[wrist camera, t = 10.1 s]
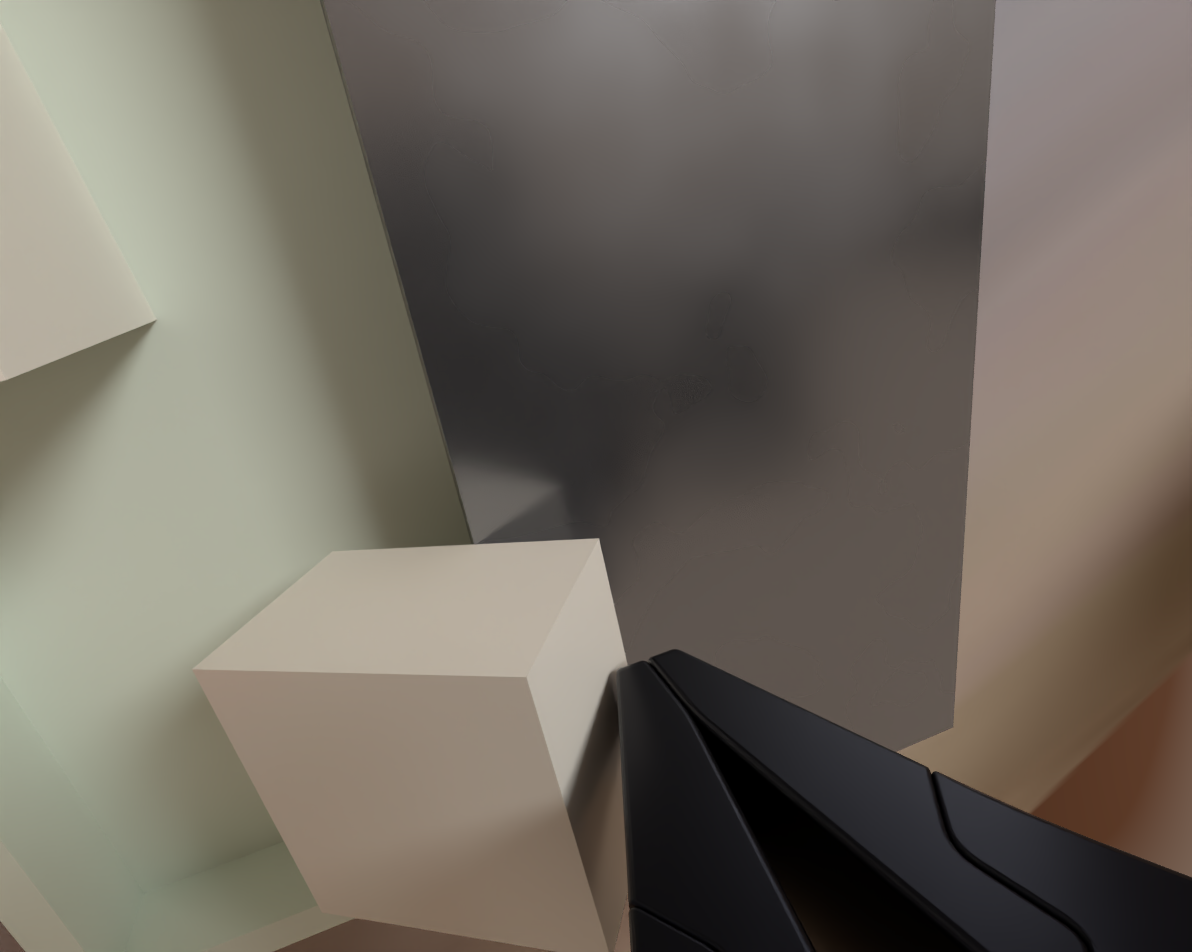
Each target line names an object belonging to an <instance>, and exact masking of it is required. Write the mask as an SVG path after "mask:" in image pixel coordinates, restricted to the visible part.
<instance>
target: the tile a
mask: <svg viewBox="0 0 1192 952" xmlns="http://www.w3.org/2000/svg"><path fill="white" fill-rule="evenodd" d="M155 320H157V319H156V317H155V315H154V313H153V312H152V310H151V308H150V306H149V304H148V302H147V300H146V298H145V296H144V294H143V293H142V291H141V289H140V287H139V285H138V283H137V281H136V279H135V277H134V275H133V274H132V272H131V270H130V268H129V266H128V264H127V262H126V260H125V258H124V256H123V255H122V253H121V251H120V249H119V247H118V245H117V243H116V241H115V239H114V238H113V236H112V234H111V232H110V230H109V228H108V226H107V224H106V222H105V220H104V219H103V217H102V215H101V213H100V211H99V209H98V207H97V205H96V203H95V201H94V200H93V198H92V196H91V194H90V192H89V190H88V188H87V186H86V184H85V182H84V181H83V179H82V177H81V175H80V173H79V171H78V169H77V167H76V165H75V163H74V162H73V160H72V158H71V156H70V154H69V152H68V150H67V148H66V146H65V144H64V143H63V141H62V139H61V137H60V135H59V133H58V131H57V129H56V127H55V125H54V124H53V122H52V120H51V118H50V116H49V114H48V112H47V110H46V108H45V106H44V105H43V103H42V101H41V99H40V97H39V95H38V93H37V91H36V89H35V87H34V86H33V84H32V82H31V80H30V78H29V76H28V74H27V72H26V70H25V68H24V67H23V65H22V63H21V61H20V59H19V57H18V55H17V53H16V51H15V49H14V48H13V46H12V44H11V42H10V40H9V38H8V36H7V34H6V32H5V30H4V29H3V27H2V25H1V23H0V382H1V381H5V380H8V379H10V378H13V377H15V376H18V375H20V374H23V373H25V372H28V371H30V370H33V369H35V368H38V367H40V366H43V365H45V364H48V363H50V362H53V361H55V360H58V359H60V358H63V357H65V356H68V355H70V354H73V353H75V352H78V351H80V350H83V349H85V348H88V347H90V346H93V345H95V344H98V343H100V342H103V341H105V340H108V339H110V338H113V337H115V336H118V335H120V334H123V333H125V332H128V331H130V330H133V329H135V328H138V327H140V326H143V325H145V324H148V323H150V322H153V321H155Z"/></svg>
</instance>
